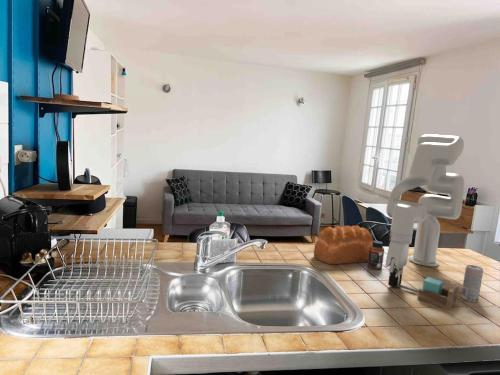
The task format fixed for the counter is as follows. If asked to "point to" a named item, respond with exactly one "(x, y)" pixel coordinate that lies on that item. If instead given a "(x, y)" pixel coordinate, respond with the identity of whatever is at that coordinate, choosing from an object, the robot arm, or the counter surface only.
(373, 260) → the supplement bottle
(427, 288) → the teal block with rod
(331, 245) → the bread
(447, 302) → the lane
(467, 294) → the energy drink
